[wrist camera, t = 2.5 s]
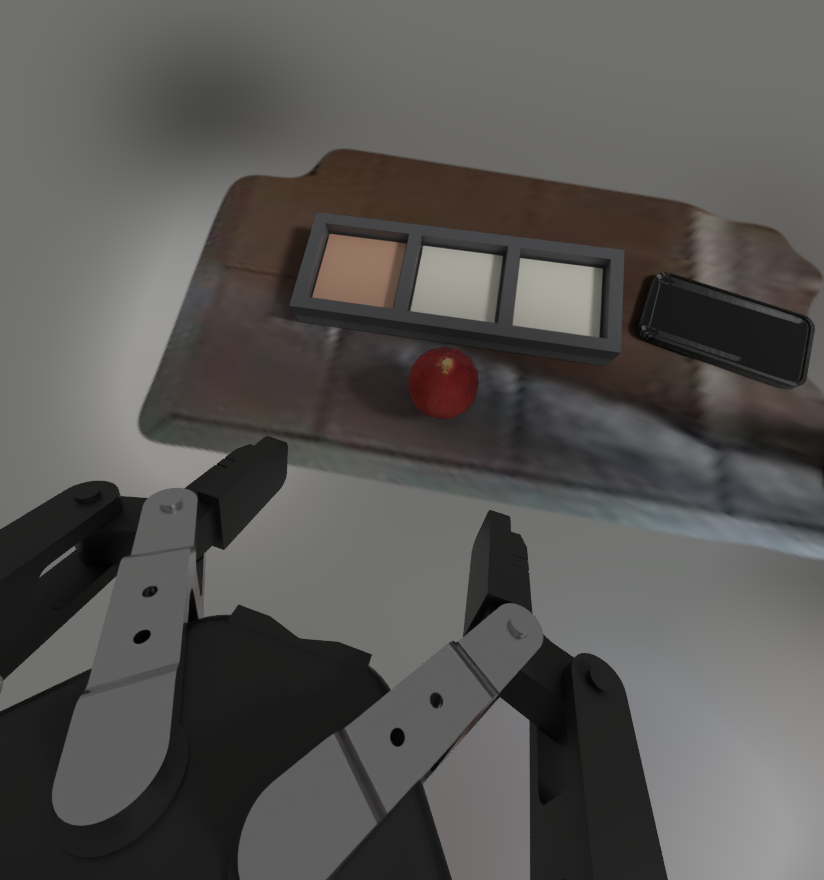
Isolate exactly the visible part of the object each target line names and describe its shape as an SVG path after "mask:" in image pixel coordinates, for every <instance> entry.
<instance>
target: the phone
mask: <svg viewBox="0 0 824 880" xmlns="http://www.w3.org/2000/svg"><path fill="white" fill-rule="evenodd" d="M814 331H815V326H814V324H813V322H812V320H811V319H809V318H808V317H806V316H804V315H801V314H798V313H795V312H792V311H788V310H785V309H782V308H779V307H776V306H773V305H770V304H766V303H763V302H760V301H757V300H754V299H751V298H747V297H744V296H741V295H738V294H735V293H732V292H729V291H725V290H722V289H719V288H716V287H713V286H710V285H706V284H703V283H700V282H697V281H694V280H691V279H688V278H684V277H681V276H678V275H675V274H672V273H668V272H662V273H660V274H658V275H657V276H656V277H655V278H654V279H653V280H652V282H651V284H650V287H649V290H648V294H647V297H646V300H645V303H644V307H643V310H642V313H641V316H640V320H639V323H638V326H637V334H638V336H639V337H640V338H641V339H642V340H644V341H646V342H649V343H652V344H655V345H658V346H660V347H663V348H666V349H669V350H672V351H675V352H678V353H681V354H684V355H687V356H689V357H692V358H695V359H698V360H701V361H704V362H707V363H710V364H713V365H716V366H719V367H721V368H724V369H727V370H730V371H733V372H736V373H739V374H742V375H745V376H748V377H750V378H753V379H756V380H759V381H762V382H765V383H768V384H771V385H774V386H777V387H779V388H782V389H792V388H795V387H797V386H800V385H802V384H804V383H805V381H806V379H807V373H808V367H809V361H810V354H811V348H812V342H813V337H814Z"/></svg>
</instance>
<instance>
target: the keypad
mask: <svg viewBox="0 0 824 880" xmlns="http://www.w3.org/2000/svg"><path fill="white" fill-rule="evenodd" d="M330 234H335V235H343V236H351V237H359V238H367V239H375V240H383V241H390V242H398V243H406V244H407V247H406V252H405V257H404V261H403V266H402V271H401V275H400V280H399V285H398V289H397V294H396V299H395V304H394V308H393V309H392V308H385V307H378V306H370V305H363V304H356V303H349V302H342V301H335V300H327V299H320V298H313V297H312V296H313V293H314V289H315V285H316V282H317V278H318V275H319V271H320V267H321V264H322V260H323V257H324V253H325V250H326V246H327V242H328V239H329V235H330ZM623 274H624V250H619V249H611V248H603V247H595V246H587V245H578V244H570V243H562V242H554V241H546V240H538V239H530V238H522V237H514V236H506V235H498V234H489V233H481V232H473V231H465V230H457V229H449V228H441V227H433V226H425V225H417V224H409V223H401V222H392V221H384V220H376V219H368V218H360V217H352V216H344V215H336V214H328V213H320V212H317V213H316V216H315V220H314V223H313V226H312V230H311V233H310V236H309V240H308V243H307V247H306V250H305V253H304V257H303V260H302V264H301V267H300V270H299V274H298V277H297V281H296V284H295V287H294V291H293V294H292V297H291V301H290V304H289V306H290V308H291V310H292V311H293V313H294V315H295V316H296V318H297V320H298V322H305V323H311V324H318V325H325V326H332V327H339V328H346V329H353V330H360V331H367V332H374V333H381V334H387V335H394V336H401V337H408V338H415V339H422V340H429V341H436V342H443V343H450V344H457V345H463V346H470V347H477V348H484V349H491V350H498V351H505V352H512V353H519V354H526V355H533V356H539V357H546V358H553V359H560V360H567V361H574V362H581V363H588V364H595V365H602V366H606V365H607V364H609V363H610V362H611V361H612V360H613V359H614V358H615V357H617V356H618V355H619V354H620V353H621V337H622V305H623Z"/></svg>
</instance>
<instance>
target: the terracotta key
mask: <svg viewBox="0 0 824 880" xmlns="http://www.w3.org/2000/svg"><path fill="white" fill-rule="evenodd" d="M406 247H407V244H406V243H398V242H390V241H383V240H375V239H367V238H359V237H351V236H343V235H335V234H330V235H329V239H328V242H327V246H326V250H325V253H324V257H323V260H322V264H321V267H320V271H319V275H318V278H317V282H316V285H315V289H314V293H313V296H312V297H313V298H320V299H327V300H335V301H342V302H349V303H356V304H363V305H370V306H378V307H385V308H392V309H393V308H394V304H395V299H396V294H397V289H398V285H399V280H400V275H401V271H402V266H403V261H404V257H405V252H406Z"/></svg>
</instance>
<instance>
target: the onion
mask: <svg viewBox="0 0 824 880" xmlns="http://www.w3.org/2000/svg"><path fill="white" fill-rule="evenodd" d="M408 386H409V395H410V397H411V399H412V400H413V402H414V404H415V406H416V408H417V409H419V410H420V411H421V412H423V413H424V414H426V415H427V416H431V417H434V418H438V419H443V418H453V417H455V416H457V415H459V414H461V413H463V412H465V411H466V410H467V409H468V408H469V406H470V405H471V404H472V402H473V401H474V400H475V397H476V393H477V389H478V373H477V370H476V368H475V366H474V364H473V363H472V361H471V359H470V358H469V357H468V356H467V355H465V354H464V353H462V352H461V351H460V350H457V349H453V348H449V347H440V348H436V349H431V350H430V351H428V352H426V353H425V354H423V355H421V356H420V357H419V358H418V360H417V361H416V362H415V363H414V365H413V366H412V368H411V372H410V376H409V381H408Z"/></svg>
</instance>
